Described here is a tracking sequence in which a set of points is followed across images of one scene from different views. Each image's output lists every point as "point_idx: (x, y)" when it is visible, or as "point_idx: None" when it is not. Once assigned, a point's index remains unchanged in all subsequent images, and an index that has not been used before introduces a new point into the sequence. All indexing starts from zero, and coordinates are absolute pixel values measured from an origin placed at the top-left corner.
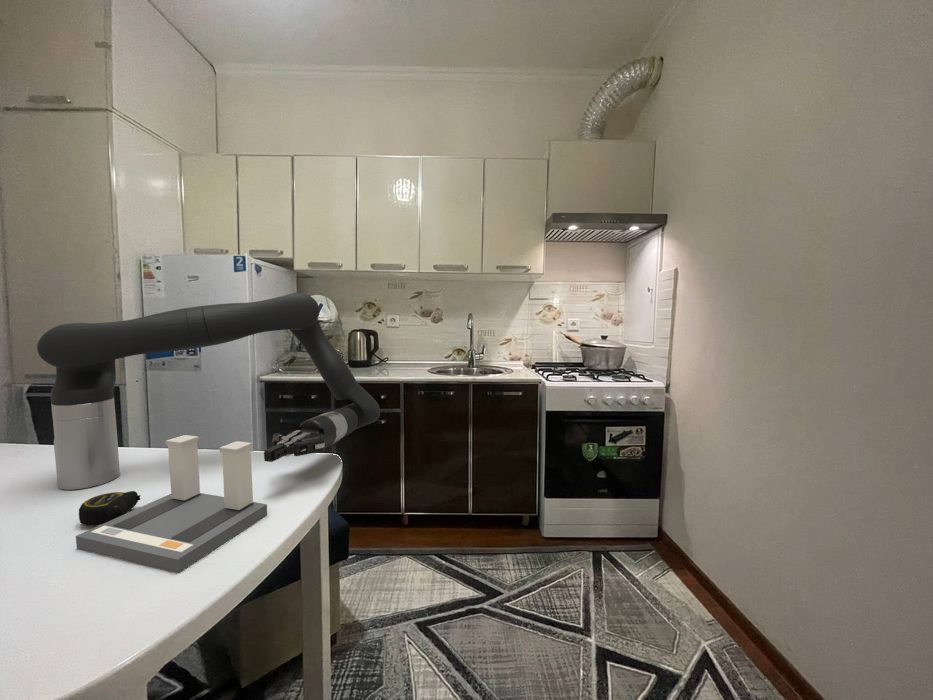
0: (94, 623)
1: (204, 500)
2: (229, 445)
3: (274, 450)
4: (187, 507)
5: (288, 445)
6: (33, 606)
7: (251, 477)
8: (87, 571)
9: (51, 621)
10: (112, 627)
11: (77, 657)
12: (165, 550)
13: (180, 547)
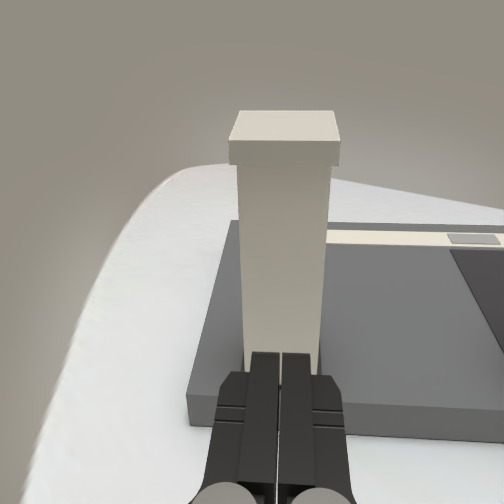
0: None
1: (456, 372)
2: (314, 120)
3: (248, 379)
4: (449, 330)
5: (196, 501)
6: (368, 194)
7: (242, 296)
8: None
9: None
10: (225, 193)
11: (220, 177)
12: None
13: None
